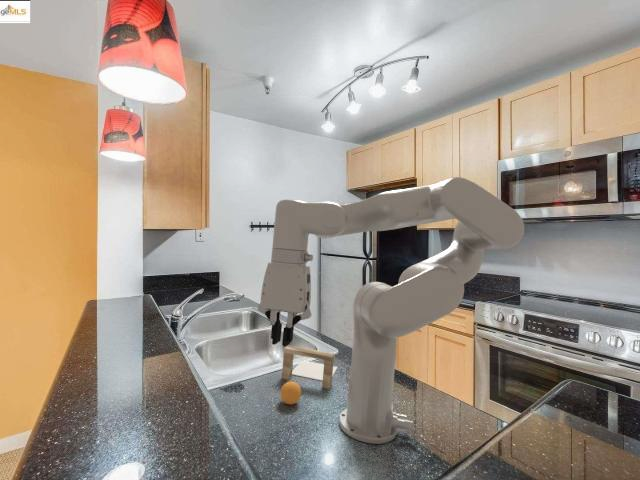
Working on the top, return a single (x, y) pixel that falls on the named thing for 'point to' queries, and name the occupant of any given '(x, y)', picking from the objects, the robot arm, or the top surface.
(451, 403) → the top surface
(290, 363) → the bridge
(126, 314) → the top surface
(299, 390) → the ball
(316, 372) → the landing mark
